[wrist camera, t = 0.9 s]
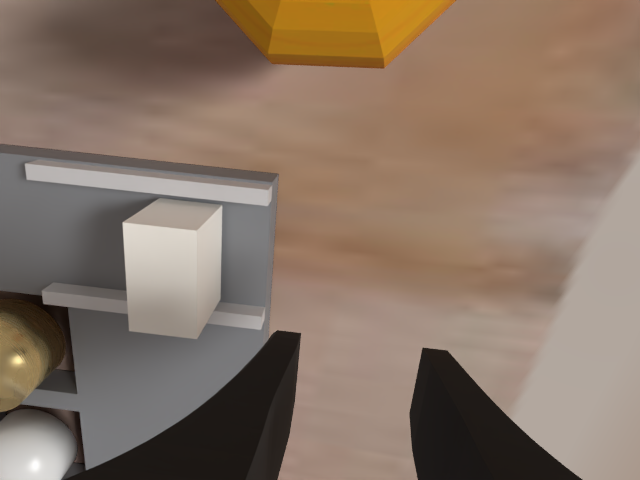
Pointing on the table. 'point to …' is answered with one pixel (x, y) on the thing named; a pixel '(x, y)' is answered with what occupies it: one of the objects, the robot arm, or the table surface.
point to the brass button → (26, 350)
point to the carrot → (333, 29)
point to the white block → (173, 267)
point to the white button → (35, 446)
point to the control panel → (110, 285)
